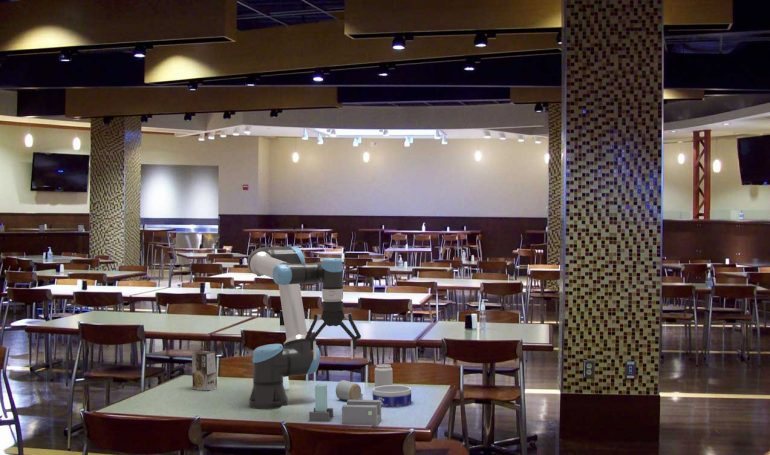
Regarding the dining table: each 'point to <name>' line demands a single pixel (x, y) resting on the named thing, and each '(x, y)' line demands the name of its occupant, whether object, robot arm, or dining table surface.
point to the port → (362, 412)
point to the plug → (321, 397)
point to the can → (383, 375)
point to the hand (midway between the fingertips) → (333, 358)
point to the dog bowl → (392, 395)
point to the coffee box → (204, 370)
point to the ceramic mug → (348, 390)
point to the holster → (321, 416)
